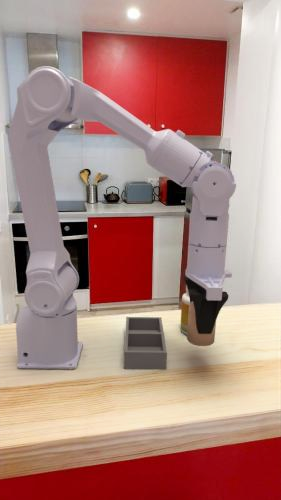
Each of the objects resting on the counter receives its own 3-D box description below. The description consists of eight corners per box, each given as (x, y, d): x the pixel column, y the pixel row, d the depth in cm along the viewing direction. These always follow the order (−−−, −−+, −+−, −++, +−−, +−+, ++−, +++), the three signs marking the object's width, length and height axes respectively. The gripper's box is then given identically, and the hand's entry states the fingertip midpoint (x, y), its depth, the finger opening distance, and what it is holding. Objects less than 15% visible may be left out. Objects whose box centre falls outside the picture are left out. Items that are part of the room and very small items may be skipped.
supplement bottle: (207, 338, 68) (210, 290, 66) (178, 335, 69) (181, 288, 67) (208, 326, 73) (211, 281, 71) (181, 323, 74) (183, 278, 72)
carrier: (124, 368, 58) (124, 352, 57) (126, 330, 71) (126, 316, 70) (166, 369, 58) (166, 352, 57) (160, 331, 71) (161, 317, 70)
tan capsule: (189, 346, 56) (191, 303, 55) (185, 332, 61) (187, 292, 59) (216, 346, 57) (220, 303, 55) (211, 333, 61) (214, 293, 59)
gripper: (248, 256, 48) (238, 348, 51) (222, 234, 62) (216, 307, 65) (194, 255, 48) (189, 348, 51) (181, 233, 62) (177, 307, 65)
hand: (201, 325), depth 58 cm, fingers closed on tan capsule, 4 cm apart
